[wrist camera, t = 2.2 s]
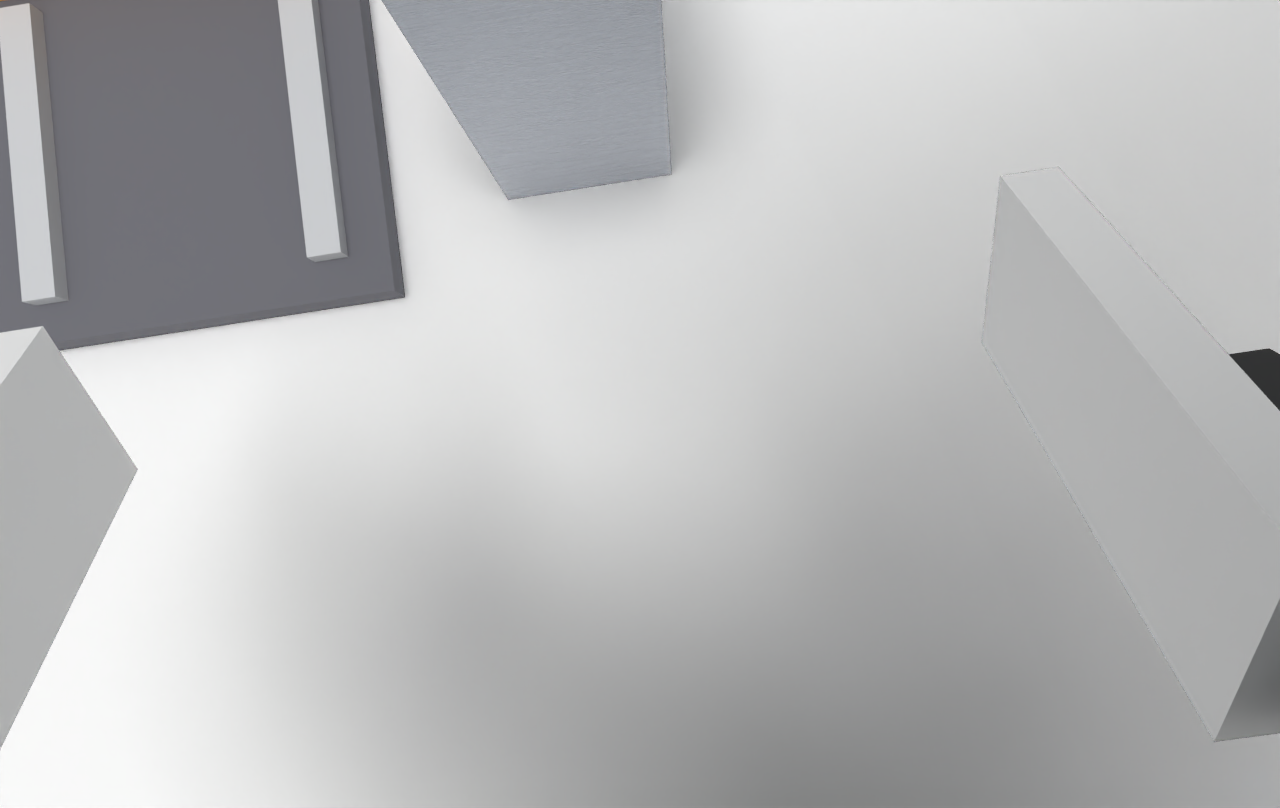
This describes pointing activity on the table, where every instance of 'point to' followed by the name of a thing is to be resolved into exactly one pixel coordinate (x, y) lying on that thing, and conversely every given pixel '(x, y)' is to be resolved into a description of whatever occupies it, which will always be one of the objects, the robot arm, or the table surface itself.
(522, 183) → the alu block
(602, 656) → the table surface
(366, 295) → the coupler dock
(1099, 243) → the robot arm
